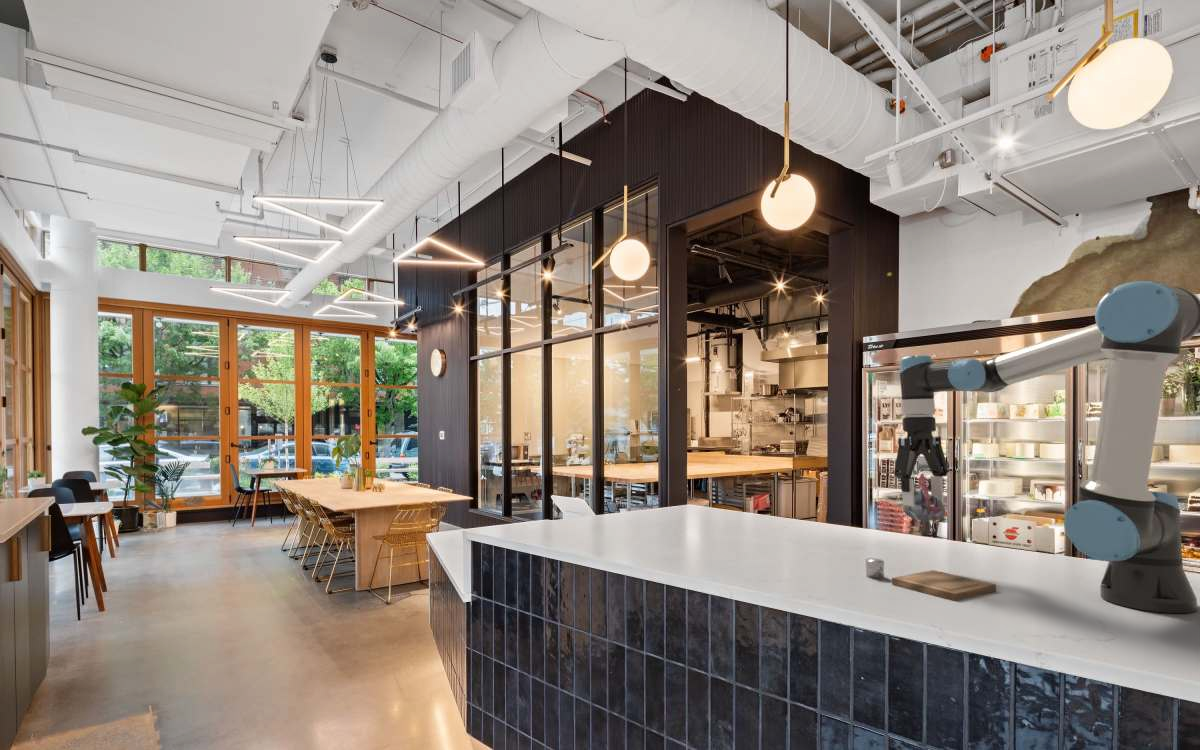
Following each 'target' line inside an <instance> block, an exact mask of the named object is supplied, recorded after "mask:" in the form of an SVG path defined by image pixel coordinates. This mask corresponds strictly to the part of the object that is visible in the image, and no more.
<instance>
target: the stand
mask: <svg viewBox="0 0 1200 750" xmlns="http://www.w3.org/2000/svg"><path fill="white" fill-rule="evenodd" d="M891 585H894V586H898V587H901V588H904V589H905V588H906V589H910V590H912V591H913V590H914V591H917V592H921V593H925V594H928V595H933V596H935V597H941V598H944V599H947V600H951V601H954V602H955V601H958V600H964V599H967V598H972V597H977V596H980V595H984V594H988V593H994V592H997V584H996V583H992V582H988V581H987V582H986V581H983V580H979V579H974V578H970V577H966V576H965V577H964V576H962V575H961V576H960V575H956V574H951V573H946V572H943V571H938V570H934V569H931V570H927V571H926V570H925V571H921V572H916V573H911V574H906V575H901V576H900V575H899V576H895V577H891Z"/></svg>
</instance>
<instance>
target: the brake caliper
mask: <svg viewBox="0 0 1200 750" xmlns="http://www.w3.org/2000/svg"><path fill="white" fill-rule="evenodd" d="M913 483H914V501H915V506H909V505H903V501H899V502H897V506H898V507H899V508H901V509H902V510H903V512H904V513H900V514H898V516H906V517H911V518H913V519H916V520H917V521H918V520H919V521H927V520H929V521H931V520H943V518H944V517H945V515H946V508H945V505H944V502H942V501H941V499H940V498H939V497H935V495H932V494H931V495H930V494H929V490H928V486H927V481H926V477H925V475H924V474H923V473H921V474H920V475H919V480H918V484H917V488H916V483H915V481H914V480H913ZM901 496H902V495H901ZM901 498H902V499H901V500H903V496H902V497H901Z"/></svg>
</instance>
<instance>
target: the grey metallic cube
mask: <svg viewBox="0 0 1200 750" xmlns="http://www.w3.org/2000/svg"><path fill="white" fill-rule="evenodd" d="M865 576H866V577H867V578H869V579H874V580H882V579H885V561H884V559H881V558H871V557H869V558H865Z"/></svg>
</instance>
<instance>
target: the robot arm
mask: <svg viewBox="0 0 1200 750" xmlns="http://www.w3.org/2000/svg"><path fill="white" fill-rule="evenodd" d="M1094 317H1095V323H1094V324H1091V325H1088V326H1085V327H1082V328H1079V329H1077V330H1072V331H1071V332H1067V333H1063V334H1061V335H1059V336H1058V335H1057V336H1055V337H1052V338H1049V339H1046V340H1043V341H1040V342H1037V343H1034V344H1030V345H1027V346H1025V347H1022V348H1018V349H1016V350H1013V351H1010V352H1007V353H1003V354H1001V355H1000V354H999V355H998V356H996V357H992V358H989V359H986V360H981V361H979V360H978V359H976V358H958V359H954V360H943V361H933V359H932V356H931V355H925V354H921V355H908V356H907V355H906V356H904V357H902V358H901V359H900V360H899V373H898V374H899V379H900V389H901V392H900V393H901V412H902V415H903V416H904V417H903V418H902V431H903V432H905V433H906V437H903V436H901V437H898V439H897V441H898V442H897V443H898V447H897V448H898V449H897V454H896V461H895V467H894V474H893V476H895V477H896V478H897V479H900V485H901V486H900V487H901V488H900V489H901V493H902V494H901V496H903V499H902V502H903V505H909V506H915V501H914V483H915V482H914V483H913V481H914V478H911V477H912V475H913V472H914V470H915V469H914V468H915V466H916V463H917V460H918V458H919V457H920V456H921V455H922V456H923V457H924V459H925V461H926V464H927V465H928V467H929V469H930V471H931V473H932V475H930V490H931V495H935V497H939V498H940V499H941V501H942V503H944V502H945V501H944V481H943V480H944V479H943V477H947V476H948V473H949V468H948V465H947V460H946V458H945V454H944V450H943V446H942V437H941V436H939V435H937V436H936V435H935V436H934V435H933V432H936V430H937V425H936V418H935V417H934V416H933V415H936V407H935V406H936V405H935V393H940V392H981V393H983V392H984V393H994V392H999V391H1002V390H1004V389H1006V388H1007V387H1008V386H1010V385H1013V384H1016V383H1018V384H1019V383H1022V382H1024V381H1028V380H1030V379H1035V378H1037V377H1042V376H1045V375H1049V374H1052V373H1055V372H1059V371H1062V370H1063V371H1064V370H1066V369H1069V368H1074V367H1077V366H1080V365H1084V364H1087V363H1091V362H1094V361H1097V360H1101V359H1104V358H1107V359H1108V363H1107V364H1108V365H1107V370H1106V377H1105V383H1104V389H1103V396H1102V404H1101V407H1100V408H1101V409H1100V410H1101V411H1100V415H1099V421H1098V423H1099V424H1098V428H1097V434H1096V442H1095V448H1094V454H1093V460H1092V461H1093V462H1092V466H1091V467H1092V468H1091V474H1090V477H1089V478H1088V479H1086V480H1084V481H1083V482H1081V483H1080V484H1079V488H1078V489H1079V490H1078V494H1077V495H1078V496H1077V502H1076V503H1074V504H1073V505H1072V506H1070V507H1069V508H1068V510H1067V511H1066V513H1065V515H1064V520H1063V527H1064V531H1065V534H1066V537H1067V538H1068V540H1069V541H1070V542H1071V543H1072V545H1074V547H1075V548H1076V549H1077V550H1079V552H1081V553H1083V554H1084V555H1086V556H1088V557H1090V558H1092V559H1095V560H1098V561H1105V562H1108V563H1107V566H1106V568H1105V571H1104V574H1103V577H1102V579H1101V582H1100V587H1099V588H1100V590H1099V591H1100V597H1101V598H1102V599H1103V600H1105V601H1107V602H1110V603H1112V604H1115V605H1117V606H1118V605H1119V606H1122V607H1127V608H1130V609H1131V608H1132V609H1136V610H1142V611H1148V612H1157V613H1168V614H1189V613H1191V614H1192V613H1195V612H1196V611H1198V599H1197V596H1196V593H1195V592H1194V589H1193V588H1192V586H1191V583H1190V581H1189V580H1188V577H1187V575H1186V572H1185V570H1184V568H1183V567H1184V565H1183V563H1184V562H1183V551H1182V549H1183V547H1182V534H1181V531H1182V530H1181V515H1180V514H1181V508H1180V505H1179V499H1178V497H1176V495H1174V494H1172V493H1170V492H1163V491H1162V492H1161V491H1154V490H1153V491H1152V490H1149V489H1148V482H1149V477H1150V476H1149V475H1150V471H1151V470H1150V469H1151V464H1152V457H1153V452H1154V451H1153V450H1154V444H1155V439H1156V433H1157V426H1158V420H1159V415H1160V414H1159V413H1160V409H1161V401H1162V396H1163V390H1164V385H1165V384H1164V382H1165V376H1166V370H1167V365H1168V364H1169V363H1170V362H1171V361H1173V360H1175V359H1176V358H1178V357H1179V356H1180V352H1181V348H1182V347H1181V345H1182V343H1184V342H1186V341H1187V340H1189V339H1191V338H1192V337H1194V336H1195V335H1196V334H1197V333H1198V332H1199V330H1200V298H1199V297H1198V296H1197V295H1196V294H1194V293H1193V292H1191V291H1190V290H1187V289H1185V288H1182V287H1177V286H1171V285H1168V284H1165V283H1161V282H1158V281H1149V280H1145V281H1142V280H1140V281H1138V280H1137V281H1131V282H1126V283H1123V284H1120V285H1118V286H1115V287H1114V288H1113V289H1111V290H1110V291H1108V292H1107V293H1106V294H1105V295H1103V297H1101V299H1100V301H1099V302H1098V304H1097V306H1096V309H1095V313H1094Z"/></svg>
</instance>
